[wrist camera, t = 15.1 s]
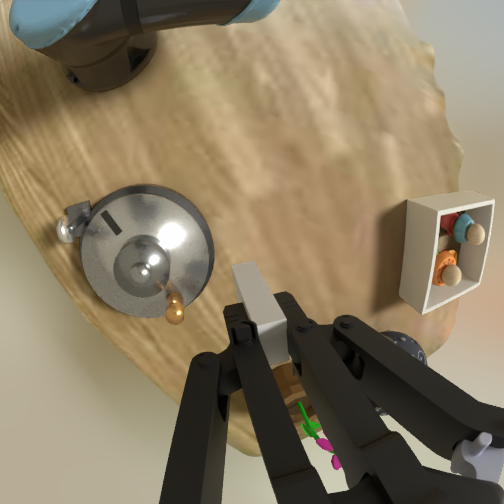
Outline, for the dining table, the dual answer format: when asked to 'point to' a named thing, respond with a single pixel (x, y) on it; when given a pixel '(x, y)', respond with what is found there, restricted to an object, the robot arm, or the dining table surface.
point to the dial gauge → (73, 222)
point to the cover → (142, 266)
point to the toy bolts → (447, 258)
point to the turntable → (157, 225)
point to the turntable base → (168, 194)
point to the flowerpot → (300, 407)
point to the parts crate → (425, 247)
